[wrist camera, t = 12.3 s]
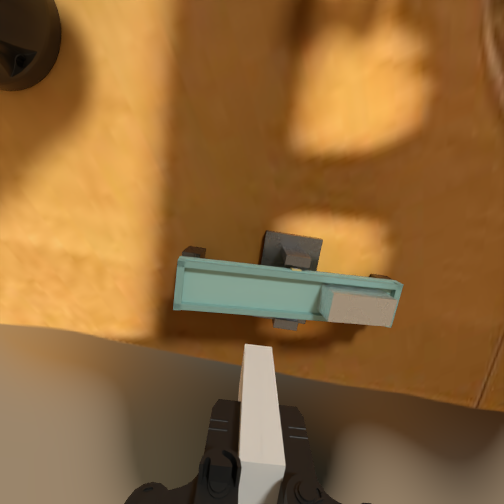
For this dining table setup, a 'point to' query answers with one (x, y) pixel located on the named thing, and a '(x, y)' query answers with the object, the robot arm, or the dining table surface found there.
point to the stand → (284, 261)
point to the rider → (356, 305)
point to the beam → (261, 288)
